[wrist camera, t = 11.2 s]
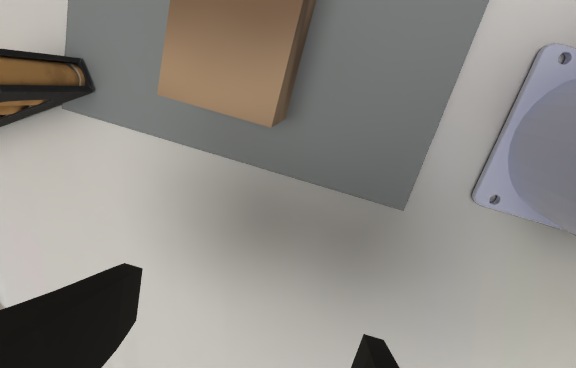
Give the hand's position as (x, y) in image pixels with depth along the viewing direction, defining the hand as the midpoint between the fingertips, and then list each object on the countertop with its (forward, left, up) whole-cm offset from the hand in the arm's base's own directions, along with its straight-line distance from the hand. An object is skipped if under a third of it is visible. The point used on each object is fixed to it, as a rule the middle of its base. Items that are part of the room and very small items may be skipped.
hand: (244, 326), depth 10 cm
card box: (+4, -10, -9) cm, 14 cm away
